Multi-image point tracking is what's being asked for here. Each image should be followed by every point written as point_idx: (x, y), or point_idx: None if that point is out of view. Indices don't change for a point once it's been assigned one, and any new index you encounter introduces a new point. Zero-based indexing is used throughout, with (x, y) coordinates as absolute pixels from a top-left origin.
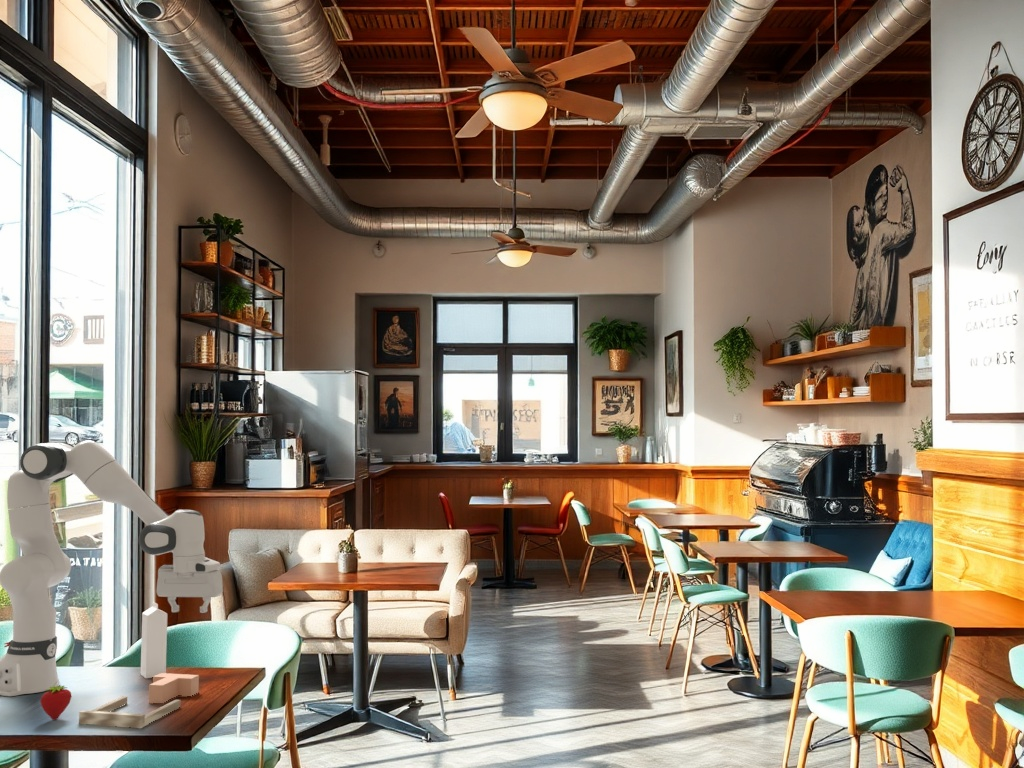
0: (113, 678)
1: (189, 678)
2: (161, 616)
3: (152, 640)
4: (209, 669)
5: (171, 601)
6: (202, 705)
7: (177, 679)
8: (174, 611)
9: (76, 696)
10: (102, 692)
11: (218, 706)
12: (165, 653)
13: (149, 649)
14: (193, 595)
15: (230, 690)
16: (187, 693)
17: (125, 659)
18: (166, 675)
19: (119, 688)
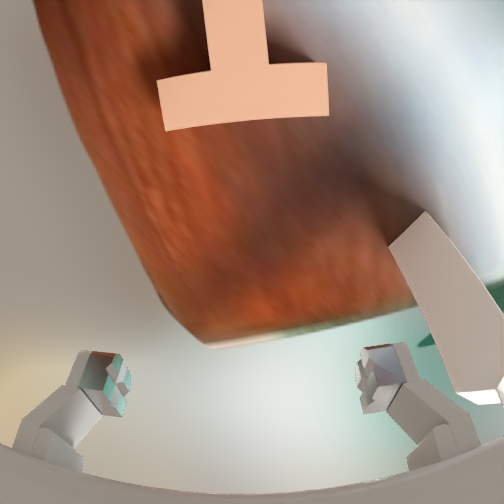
0: (492, 196)
1: (165, 80)
2: (471, 372)
3: (461, 287)
4: (305, 315)
5: (434, 419)
6: (87, 28)
7: (211, 64)
8: (378, 347)
9: (494, 30)
10: (463, 66)
11: (49, 45)
12: (410, 284)
13: (455, 263)
14: (110, 496)
15: (114, 172)
16: (184, 74)
17: None
18: (284, 88)
19: (445, 108)
